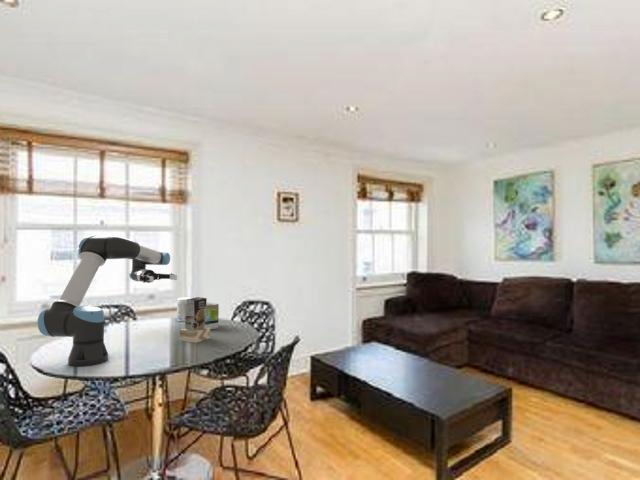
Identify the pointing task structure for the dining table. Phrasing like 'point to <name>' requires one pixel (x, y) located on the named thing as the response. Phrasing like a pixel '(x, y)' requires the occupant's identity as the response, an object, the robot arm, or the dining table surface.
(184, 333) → the birch block
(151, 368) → the dining table surface
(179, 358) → the dining table surface
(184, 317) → the supplement tub
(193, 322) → the coffee box
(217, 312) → the tea box
